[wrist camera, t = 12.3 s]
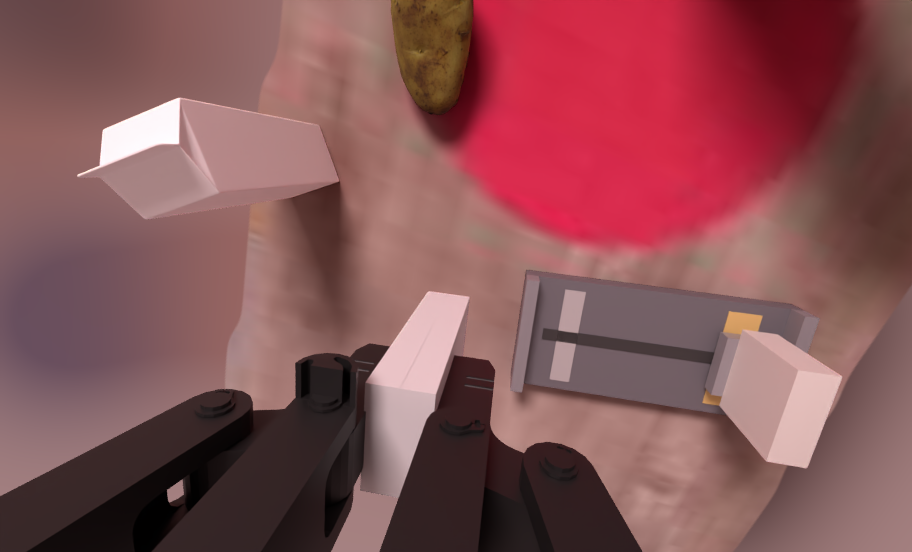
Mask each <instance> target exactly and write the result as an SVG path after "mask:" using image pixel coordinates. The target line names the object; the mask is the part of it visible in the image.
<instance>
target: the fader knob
mask: <svg viewBox="0 0 912 552" xmlns="http://www.w3.org/2000/svg"><path fill="white" fill-rule="evenodd" d="M841 380H842V376H841V375H839V374H838V373H836V372H834V371H833V370H831V369H830V368H828V367H827V366H825V365H824V364H822V363H821V362H819V361H818V360H816V359H815V358H813V357H811V356H810V355H808V354H807V353H805V352H804V351H802V350H801V349H799V348H798V347H796V346H795V345H793V344H792V343H790V342H788V341H787V340H785V339H784V338H782V337H781V336H779V335H778V334H772V333H764V332H757V331H750V330H742V333H741V334H734V333H726V332H720V335H719V339H718V342H717V346H716V349H715V353H714V356H713V359H712V363H711V366H710V370H709V373H708V377H707V380H706V384H705V388H706V389H707V391H708V392H709V393H710V394H711V395H715V396H722V398H721V402H720V405H719V406H720V407H721V408H722V409H723V411H724V412H725V413H726V414H727V415H728V417H729V418H730V419H731V420H732V421H733V423H734V424H735V425H736V426H737V427H738V428H739V430H740V431H741V432H742V433H743V434H744V436H745V437H746V438H747V439H748V440H749V442H750V443H751V444H752V445H753V446H754V448H755V449H756V450H757V451H758V452H759V453H760V455H761V456H762V457H763V458H764V459H765V461H767V462H773V463H779V464H785V465H791V466H797V467H802V468H807V467H808V465H809V462H810V459H811V456H812V454H813V451H814V449H815V446H816V444H817V441H818V439H819V436H820V434H821V431H822V428H823V426H824V423H825V421H826V418H827V416H828V413H829V410H830V408H831V405H832V403H833V400H834V398H835V395H836V392H837V390H838V387H839V385H840V382H841Z"/></svg>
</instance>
